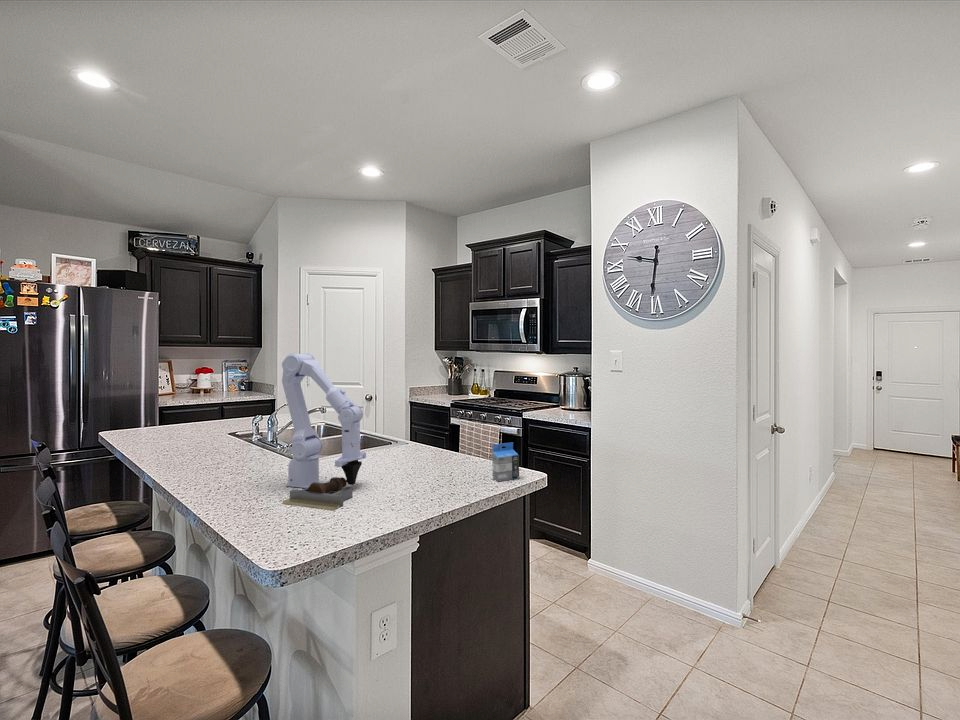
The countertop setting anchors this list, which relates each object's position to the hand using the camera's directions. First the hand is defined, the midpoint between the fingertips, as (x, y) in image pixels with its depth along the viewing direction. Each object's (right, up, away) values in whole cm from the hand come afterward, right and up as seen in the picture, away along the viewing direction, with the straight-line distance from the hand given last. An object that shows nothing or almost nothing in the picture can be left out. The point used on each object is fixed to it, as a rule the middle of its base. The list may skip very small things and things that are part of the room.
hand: (351, 484), depth 164 cm
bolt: (-5, -2, -7) cm, 9 cm away
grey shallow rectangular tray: (-5, -1, -14) cm, 15 cm away
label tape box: (+51, -1, +11) cm, 52 cm away
